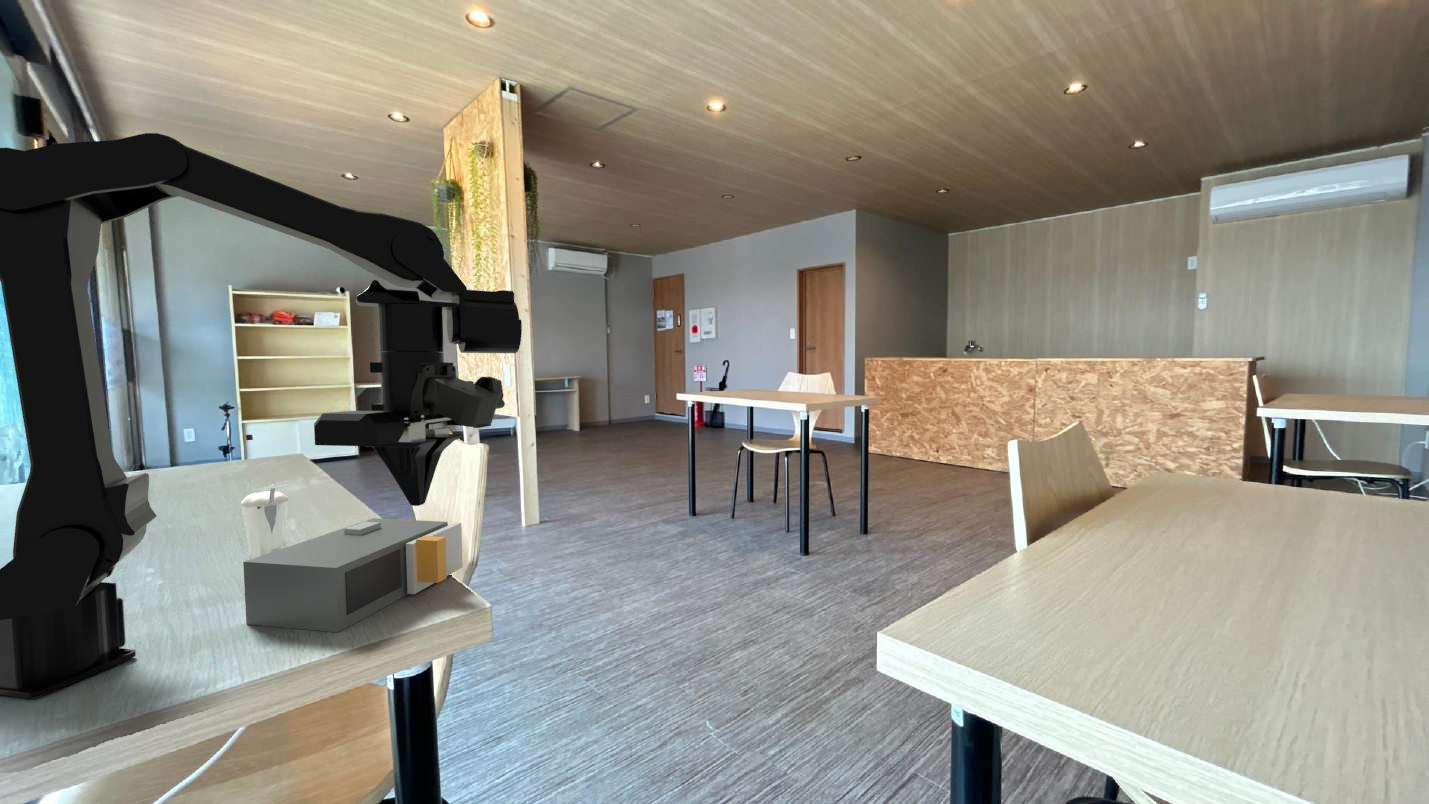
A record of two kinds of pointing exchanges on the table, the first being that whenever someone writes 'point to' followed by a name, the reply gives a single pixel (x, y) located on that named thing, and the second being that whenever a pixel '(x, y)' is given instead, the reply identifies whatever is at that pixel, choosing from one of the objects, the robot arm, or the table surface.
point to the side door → (433, 557)
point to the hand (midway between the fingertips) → (417, 504)
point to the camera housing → (332, 576)
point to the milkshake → (265, 522)
